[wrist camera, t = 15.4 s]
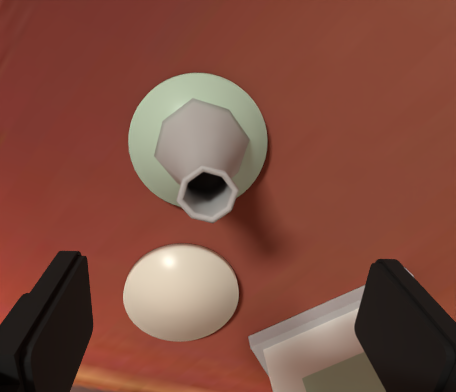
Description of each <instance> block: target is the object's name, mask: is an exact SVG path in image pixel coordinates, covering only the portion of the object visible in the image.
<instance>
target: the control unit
mask: <svg viewBox="0 0 456 392" xmlns="http://www.w3.org/2000/svg"><path fill="white" fill-rule="evenodd" d="M405 269H406V268H405ZM406 270H407V269H406ZM407 271H408V270H407ZM408 272H409V271H408ZM409 273H410V272H409ZM410 274H411V273H410ZM411 275H412V274H411ZM412 276H413V275H412ZM413 277H414V276H413ZM364 288H365V285H364V286H362V287H360V288H357V289H355V290H353V291H350V292H348V293H346V294H344V295H341V296H339V297H337V298H335V299H332V300H330V301H328V302H325V303H323V304H321V305H319V306H316V307H314V308H312V309H310V310H307V311H305V312H303V313H301V314H298V315H296V316H294V317H291V318H289V319H287V320H285V321H282V322H280V323H278V324H276V325H273V326H271V327H269V328H267V329H264V330H262V331H260V332H257V333H255V334H253V335H251V336H248V338H249V343H250V348H251V349H252V351H253V352H254V354H255V356H256V357H257V359H258V360H259V362H260V363H261V365H262V367H263V368H264V370H265V371H266V373H267V374H268V376H269V378H270V381H271V386H272V390H273V392H386V390H385V389H384V387H383V385H382V383H381V381H380V379H379V378H378V376H377V374H376V372H375V370H374V368H373V366H372V365H371V363H370V361H369V359H368V357H367V355H366V354H365V352H364V350H363V348H362V346H361V344H360V342H359V341H358V339H357V337H356V335H355V331H354V325H355V321H356V317H357V313H358V310H359V306H360V303H361V299H362V295H363V292H364Z"/></svg>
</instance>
